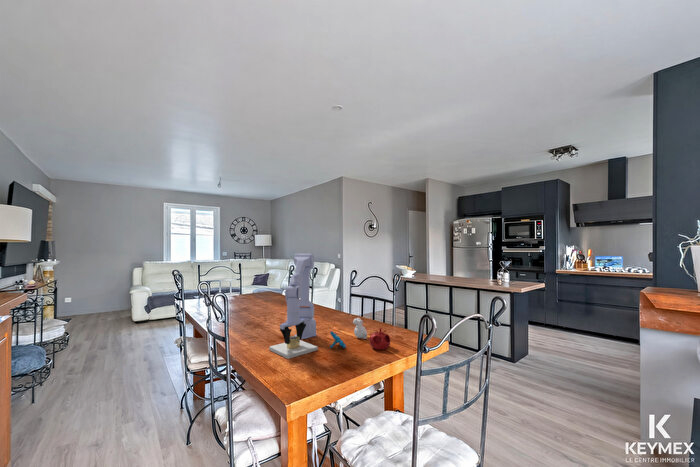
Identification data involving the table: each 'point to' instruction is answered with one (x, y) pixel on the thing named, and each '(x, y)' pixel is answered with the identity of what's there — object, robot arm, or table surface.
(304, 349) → the grey peg base
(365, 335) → the white animal figurine
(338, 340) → the blue branched piece
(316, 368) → the table surface
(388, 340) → the pomegranate
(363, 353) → the table surface
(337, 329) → the table surface
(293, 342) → the ring
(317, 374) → the table surface
